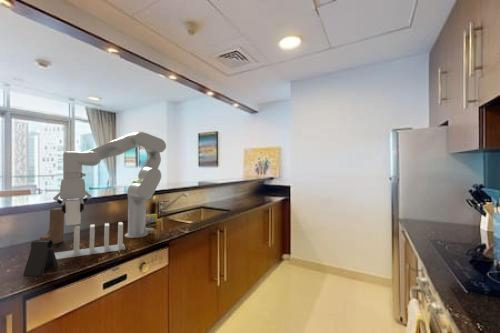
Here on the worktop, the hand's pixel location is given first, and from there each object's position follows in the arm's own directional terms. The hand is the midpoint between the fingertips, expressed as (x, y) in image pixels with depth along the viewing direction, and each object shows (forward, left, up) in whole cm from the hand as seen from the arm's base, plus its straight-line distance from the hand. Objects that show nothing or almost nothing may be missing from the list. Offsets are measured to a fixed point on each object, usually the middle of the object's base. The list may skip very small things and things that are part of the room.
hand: (73, 211), depth 120 cm
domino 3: (-8, +10, -18) cm, 22 cm away
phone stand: (+8, +26, -18) cm, 33 cm away
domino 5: (-20, +10, -18) cm, 29 cm away
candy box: (-38, -30, -19) cm, 52 cm away
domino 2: (-2, +10, -18) cm, 21 cm away
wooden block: (+10, -14, -18) cm, 25 cm away
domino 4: (-14, +10, -18) cm, 25 cm away
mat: (-7, +10, -18) cm, 22 cm away
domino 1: (0, 0, -6) cm, 6 cm away
